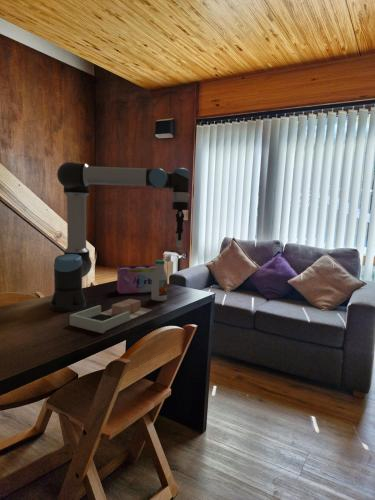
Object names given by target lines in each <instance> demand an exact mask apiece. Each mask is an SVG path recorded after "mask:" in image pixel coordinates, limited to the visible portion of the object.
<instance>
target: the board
mask: <svg viewBox="0 0 375 500" xmlns="http://www.w3.org/2000/svg"><path fill="white" fill-rule="evenodd" d="M152 311H153V309H150V308H145V307H141V309H140V310H138V311H135V312H133V313H130V320H129V321H131V320H133V319H135V318H138V317H140V316H142V315H144V314H147V313H149V312H152ZM100 315H104V316H110V317H114V316H117V315H113V314H112V308H110V309H107V310H105V311H101V314H100Z"/></svg>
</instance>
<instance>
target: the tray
mask: <svg viewBox="0 0 375 500" xmlns="http://www.w3.org/2000/svg"><path fill="white" fill-rule="evenodd" d="M101 312H102V305H100V304H99V305H96V306H92V307H89V308H87V309H84V310H83V309H82V310H80V311H78V312H77V311H76V312H74V313H72V314H69V326H73V327H76V328H80V329H84V330H87V331H91V332H96V333H100V334H104V333H106V332H107V331H108V330H111V329H113V328H116V327H118V326H120V325H122V324H124V323H127V322H129V321H131V320H130V312H129V311H127V312H124V313H122V314H119V315H117V316H114V317H113V316H111V317H110V318H106V319H105V320H100V319H94V318H95V317H96V316H99V315H102V314H101ZM93 317H94V318H93Z"/></svg>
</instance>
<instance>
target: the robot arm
mask: <svg viewBox="0 0 375 500" xmlns="http://www.w3.org/2000/svg"><path fill="white" fill-rule="evenodd" d="M56 177H57V180H58V182H59V184H61V186H63V194H64V195H65V196H66V210H67V211H66V212H67V213H66V214H67V215H66V217H67V218H66V220H67V222H66V224H67V226H66V230H67V247H66V248H65V249H64V251H63V254H60V255H57V256H56V257H55V258H54V261H53V262H54V263H53V271H54V273H53V274H54V276H53V277H54V280H53V281H54V283H53V284H54V286H53V287H54V291H53V295H52V298H51V301H50V309H51V310H52V311H54V312H60V313H63V312H64V313H65V312H66V313H67V312H68V313H70V312H75V311H79V310H83V309H84V308H86V307H87V301H86V298H85V295H84V292H83V278H84V277H86V276H87V275H88V274H89V273H90V271H91V270H92V264H93V262H92V259H91V257H90V250H89V249H88V247H87V197H88V196H89V195H90V186H91V185H103V186H104V185H105V186H106V185H107V186H108V185H111V186H133V187H134V186H135V187H136V186H137V187H148V188H151V189H170V190H171V189H172V201H173V202H172V207H171V208H172V210H174V211H177V212H176V213H175V219H176V220H175V221H176V231H175V235H176V237H175V240H176V242H175V243H176V244H175V245H176V246H175V247H176V248H183V237H184V236H183V232H184V229H183V228H184V227H183V226H184V219H185V214H184V212H183V211H188V210H189V202H188V201H189V198H190V197H191V195H190V194H189V192H190V191H189V189H190V170H189V169H187V168H185V167H179V168H177V167H175V168H173V171H171V172H168V171H167V172H166V171H165V170H164V169H162V168H159V167H155V168H143V167H141V168H139V167H119V166H118V167H115V166H114V167H113V166H90V165H89V164H87V163H80V162H73V161H67V162H63V163H62V164H61V165H60V166H59V167H58V169H57V173H56Z"/></svg>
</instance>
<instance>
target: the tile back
mask: <svg viewBox="0 0 375 500" xmlns="http://www.w3.org/2000/svg"><path fill="white" fill-rule="evenodd" d="M121 302H124V303H129V304H132V313H133V312H135V311H138V310H140V309H141V308H142V307H141V303H142V302H141V300H138V299H135V298H134V299H133V298H128V299H124V300H122V301H121Z"/></svg>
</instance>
